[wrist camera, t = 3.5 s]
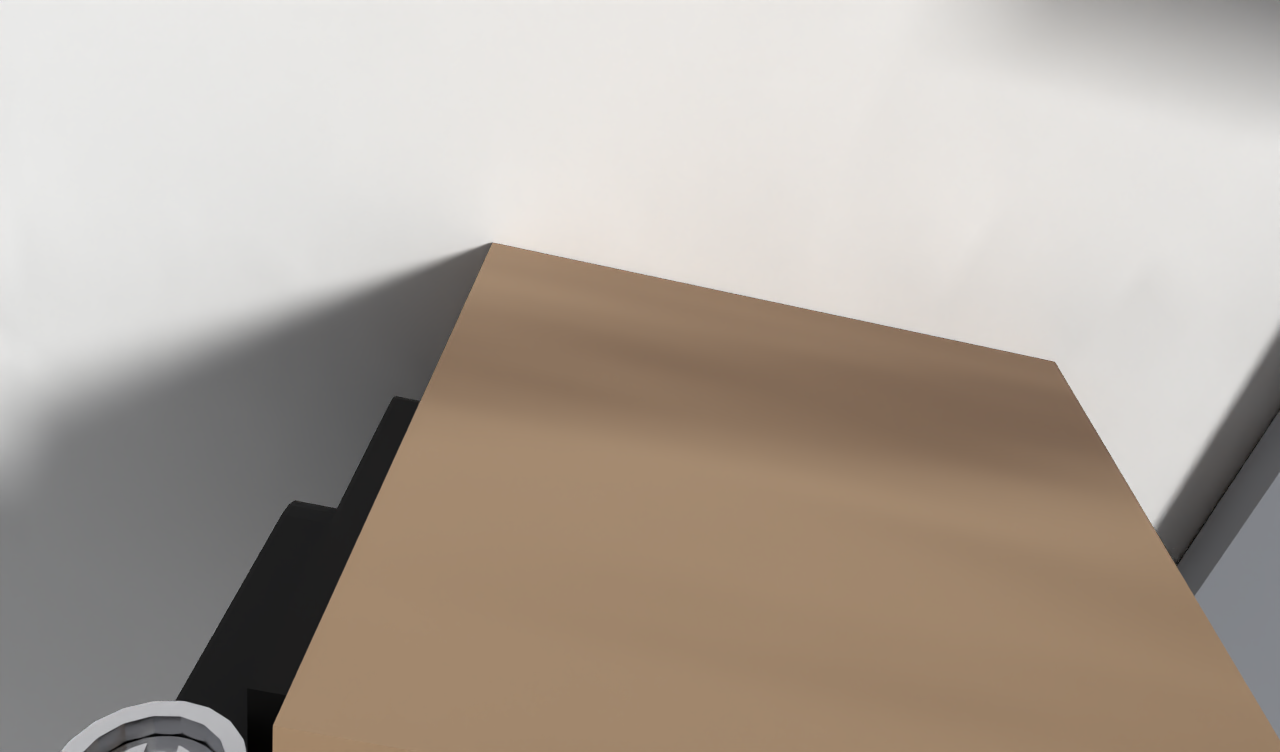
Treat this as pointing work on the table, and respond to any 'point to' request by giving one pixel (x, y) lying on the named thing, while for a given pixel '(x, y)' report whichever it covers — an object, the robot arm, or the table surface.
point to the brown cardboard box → (751, 547)
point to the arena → (1245, 572)
